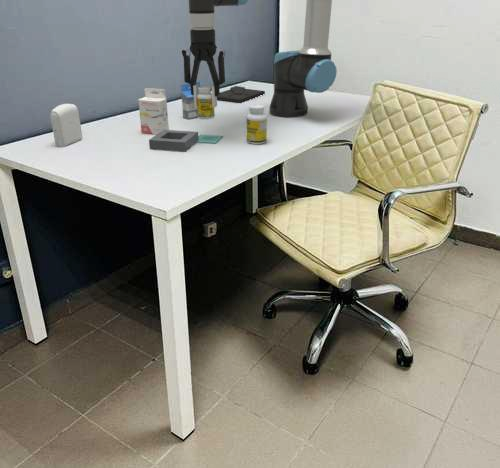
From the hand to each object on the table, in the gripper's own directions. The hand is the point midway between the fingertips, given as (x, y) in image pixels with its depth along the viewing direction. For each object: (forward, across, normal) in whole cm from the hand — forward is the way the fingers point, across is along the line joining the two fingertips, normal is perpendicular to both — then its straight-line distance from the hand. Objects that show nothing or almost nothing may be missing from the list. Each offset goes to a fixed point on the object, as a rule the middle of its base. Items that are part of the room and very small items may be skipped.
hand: (205, 105), depth 163 cm
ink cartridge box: (+11, +20, -4) cm, 24 cm away
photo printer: (+12, +43, +13) cm, 47 cm away
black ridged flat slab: (+12, +8, -66) cm, 67 cm away
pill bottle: (+11, -17, -1) cm, 20 cm away
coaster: (+11, 0, 0) cm, 11 cm away
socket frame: (+11, +8, +8) cm, 16 cm away
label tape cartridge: (+11, +14, -28) cm, 34 cm away
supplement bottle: (+4, 0, 0) cm, 4 cm away
